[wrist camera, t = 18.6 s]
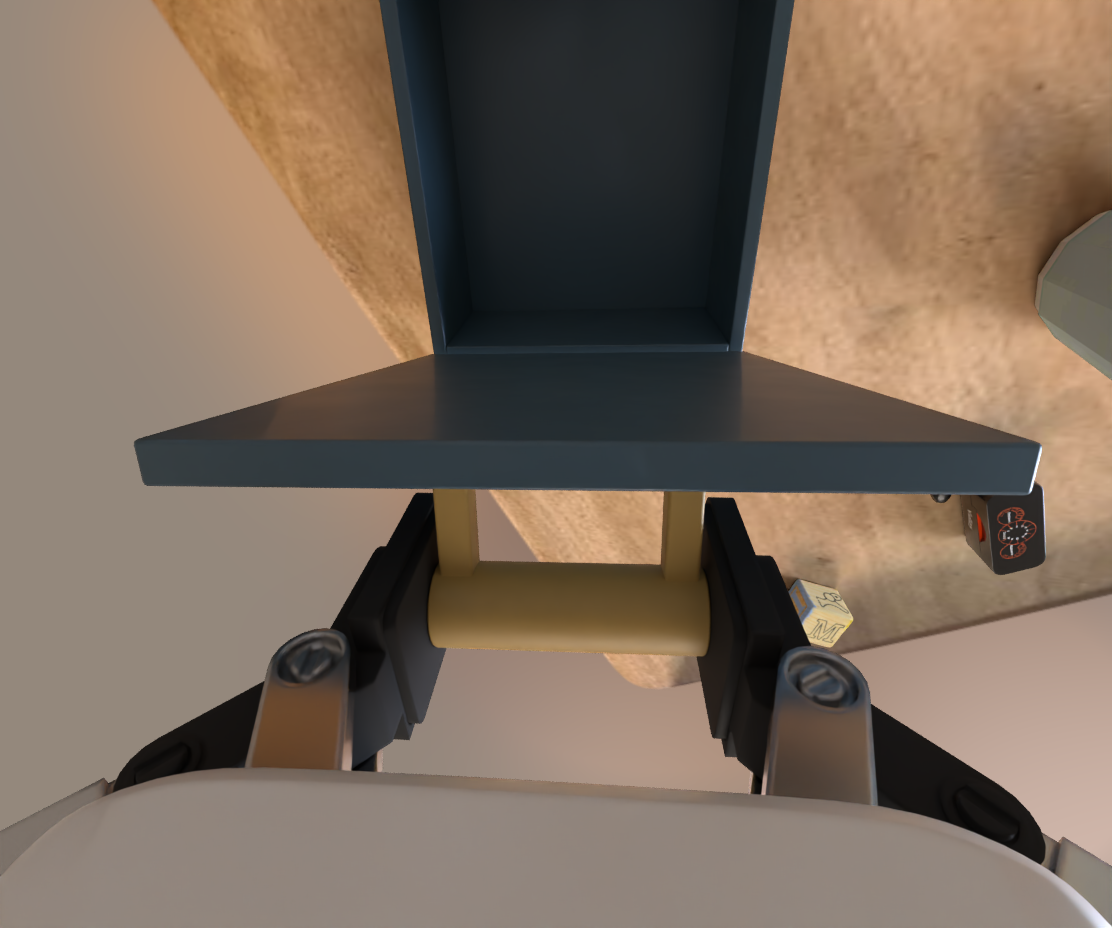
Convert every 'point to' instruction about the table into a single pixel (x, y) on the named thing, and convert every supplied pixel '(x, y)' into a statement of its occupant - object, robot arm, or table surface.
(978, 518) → the wireless earbuds
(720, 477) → the lid
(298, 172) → the table surface
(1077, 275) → the disposable coffee cup
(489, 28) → the chest
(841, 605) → the alphabet block
